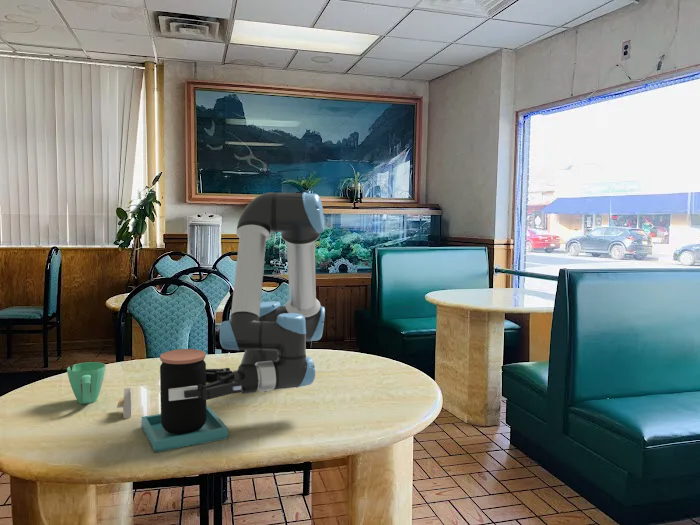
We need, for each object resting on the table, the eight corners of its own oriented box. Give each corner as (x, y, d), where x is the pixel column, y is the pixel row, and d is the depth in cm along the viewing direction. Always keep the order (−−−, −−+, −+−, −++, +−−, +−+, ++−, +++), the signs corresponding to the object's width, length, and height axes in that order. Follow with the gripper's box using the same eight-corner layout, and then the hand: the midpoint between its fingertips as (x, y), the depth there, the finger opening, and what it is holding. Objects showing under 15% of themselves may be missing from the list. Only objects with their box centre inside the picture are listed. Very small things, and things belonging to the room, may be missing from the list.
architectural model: (117, 420, 147) (116, 393, 146) (119, 411, 153) (119, 385, 153) (131, 419, 148) (130, 392, 147) (133, 410, 154) (132, 384, 154)
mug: (68, 397, 162) (67, 364, 161) (105, 393, 166) (104, 360, 165) (67, 415, 149) (65, 378, 148) (107, 409, 153) (106, 374, 152)
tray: (141, 426, 142) (141, 416, 141) (208, 415, 150) (208, 405, 150) (154, 452, 127) (154, 441, 127) (228, 438, 135) (227, 427, 135)
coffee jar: (215, 421, 141) (214, 351, 140) (189, 437, 131) (188, 362, 130) (179, 415, 145) (178, 347, 143) (151, 431, 135) (150, 357, 133)
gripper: (268, 406, 134) (172, 419, 125) (244, 378, 155) (161, 388, 146) (268, 375, 134) (171, 386, 125) (244, 352, 155) (160, 360, 146)
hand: (165, 387), depth 135 cm, fingers open, 11 cm apart
